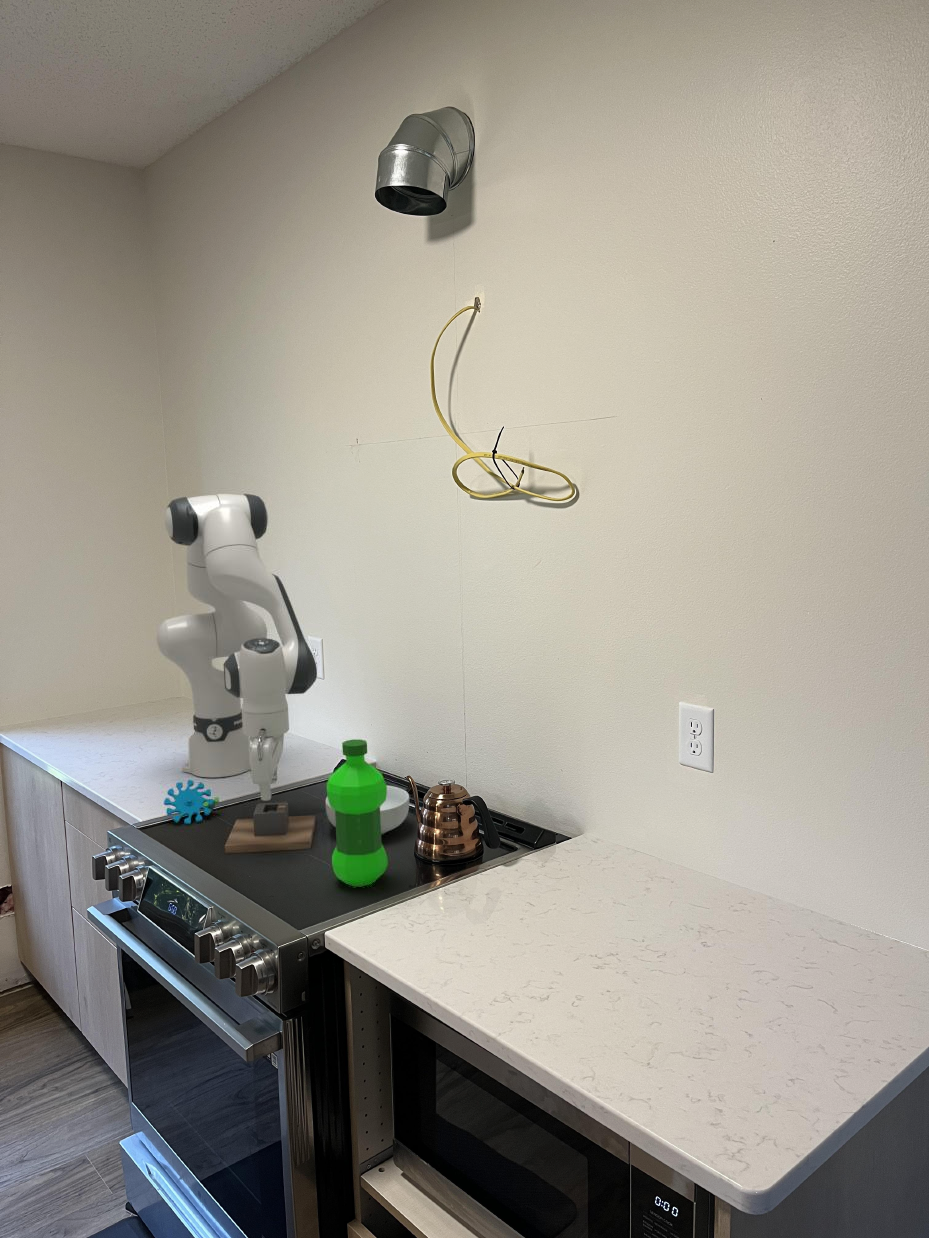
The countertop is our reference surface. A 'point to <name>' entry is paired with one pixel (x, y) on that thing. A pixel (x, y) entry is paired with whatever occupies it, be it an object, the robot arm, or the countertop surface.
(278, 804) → the gray open-top tub
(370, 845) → the plastic bottle
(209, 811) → the gear
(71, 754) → the countertop surface
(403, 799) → the cereal bowl
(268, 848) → the shaft base
